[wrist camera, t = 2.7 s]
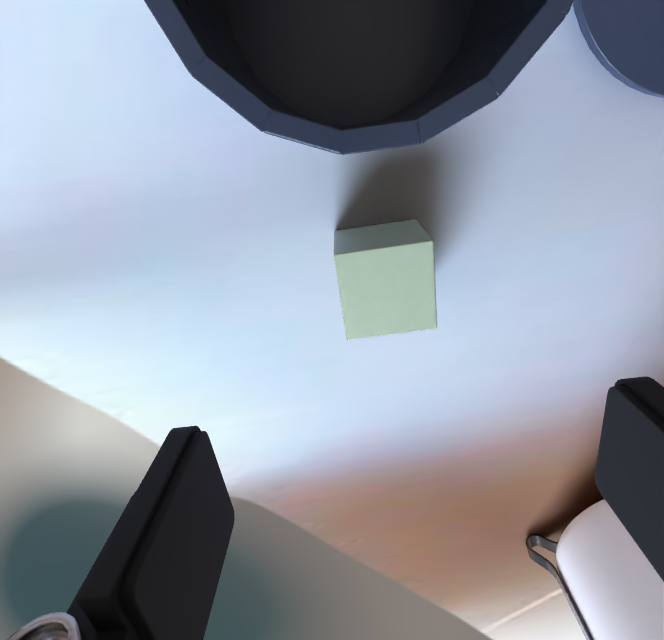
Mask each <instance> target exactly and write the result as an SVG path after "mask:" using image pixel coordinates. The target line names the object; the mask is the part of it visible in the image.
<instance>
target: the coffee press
mask: <svg viewBox="0 0 664 640" xmlns="http://www.w3.org/2000/svg"><path fill="white" fill-rule="evenodd" d="M526 546H527V550H528V554H529V556H530V558H531V559H532V560H534V561H535V562H536V563H538V564H539V565H541V566H542V567H544V568H545V569H546V570H548V571H549V572H550V573H551V574H552V575H553V576H554V577H555V578H556V579H557V581H558V583H559V585H560V586H561V588H562V590H563V592H564V594H565V596H566V598H567V600H568V603H569V605H570V607H571V609H572V611H573V613H574V615H575V617H576V619H577V621H578V623H579V625H580V627H581V629H582V631H583V634H584V636H585V638H586V640H664V582H663V580H662V579H661V577H660V576H659V575H658V573H657V572H656V570H655V569H654V568H653V566H652V565H651V563H650V562H649V561H648V559H647V558H646V556H645V555H644V554H643V552H642V551H641V549H640V548H639V547H638V545H637V544H636V542H635V541H634V540H633V538H632V537H631V535H630V534H629V533H628V531H627V530H626V528H625V527H624V526H623V524H622V523H621V521H620V520H619V519H618V517H617V516H616V514H615V513H614V512H613V510H612V509H611V507H610V506H609V505H608V503H607V502H606V500H605V499H603V500H601V501H599V502H597V503H595V504H593V505H592V506H590V507H588V508H587V509H585V510H584V511H583V512H581V513H580V514H579V515H578V516H577V517H575V518H574V519H573V520H572V521H571V522H570V524H569V525H568V526H567V527H566V529H565V530H564V532H563V533H562V535H561V537H560V540H559V542H554V541H551V540H549V539H547V538H545V537H542V536H540V535H537V534H532V535H530V536H528V537H527V539H526ZM534 546H541V547H543V548H546V549H548V550H550V551H552V552H554V553H556V565H557V569H558V571H557V570H556V568H555V567H554V565H553V564H552V563H551V562H549V561H548V560H547V559H546V558H544V557H543V556H541V555H540V554H538V553H537V552H535V551H534V550H532V549H531V548H532V547H534ZM558 572H559V573H558Z"/></svg>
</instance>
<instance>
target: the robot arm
mask: <svg viewBox="0 0 664 640" xmlns="http://www.w3.org/2000/svg"><path fill="white" fill-rule="evenodd" d="M595 482H596V486H597V488H598V490H599V492H600V493H601V495H602V496H603V498H604V499H605V500H606V502H607V503H608V505H609V506H610V507H611V509H612V510H613V512H614V513H615V514H616V516H617V517H618V519H619V520H620V521H621V523H622V524H623V526H624V527H625V528H626V530H627V531H628V533H629V534H630V535H631V537H632V538H633V540H634V541H635V542H636V544H637V545H638V547H639V548H640V549H641V551H642V552H643V554H644V555H645V556H646V558H647V559H648V561H649V562H650V563H651V565H652V566H653V568H654V569H655V570H656V572H657V573H658V575H659V576H660V577H661V579H662V580H663V582H664V387H663V386H661V385H660V384H659V383H658V382H656V381H655V380H654V379H652V378H650V377H637V378H628V379H620V380H618V381H617V382H616V383H615V386H614V387H611V388H610V389H609V390H608V394H607V401H606V407H605V413H604V419H603V426H602V432H601V438H600V445H599V451H598V457H597V464H596V470H595ZM233 525H234V510H233V506H232V503H231V500H230V497H229V494H228V491H227V489H226V486H225V483H224V480H223V477H222V474H221V471H220V468H219V465H218V462H217V460H216V457H215V454H214V451H213V448H212V445H211V442H210V439H209V436H208V434H207V432H206V431H201V430H200V429H199V427H198V426H190V427H181V428H174V429H172V430H171V431H170V432H169V434H168V436H167V437H166V439H165V441H164V443H163V445H162V446H161V448H160V450H159V452H158V454H157V456H156V457H155V459H154V461H153V463H152V464H151V466H150V468H149V470H148V471H147V473H146V475H145V477H144V479H143V480H142V482H141V484H140V486H139V487H138V489H137V491H136V492H135V494H134V495H133V496H132V497H131V499H130V501H129V503H128V504H127V506H126V508H125V510H124V512H123V513H122V515H121V517H120V519H119V520H118V522H117V524H116V526H115V528H114V529H113V531H112V533H111V535H110V536H109V538H108V540H107V542H106V543H105V545H104V547H103V549H102V551H101V552H100V554H99V556H98V558H97V559H96V561H95V563H94V565H93V566H92V569H91V570H90V572H89V574H88V575H87V577H86V579H85V581H84V582H83V584H82V586H81V588H80V590H79V592H78V593H77V595H76V597H75V598H74V600H73V602H72V604H71V606H70V608H69V609H68V611H67V613H51V614H47V615H44V616H41V617H39V618H37V619H35V620H33V621H31V622H29V623H28V624H26V625H24V626H23V627H22V628H21V629H19V630H18V631H17V632H15V633H14V634H13V635H12V636H10V637H9V638H8V639H7V640H203V638H204V634H205V630H206V626H207V623H208V619H209V615H210V611H211V608H212V604H213V600H214V597H215V593H216V589H217V585H218V582H219V578H220V574H221V570H222V567H223V563H224V559H225V555H226V551H227V548H228V544H229V540H230V536H231V533H232V529H233Z"/></svg>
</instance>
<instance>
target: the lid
mask: <svg viewBox="0 0 664 640" xmlns="http://www.w3.org/2000/svg"><path fill="white" fill-rule="evenodd" d="M573 6H574V11H575V15H576V17H577V20H578V23H579V26H580V29H581V32H582V34H583V36H584V38H585V40H586V42H587V44H588V46H589V48H590V49H591V51H592V52H593V54H594V55H595V56H596V58H597V59H598V60H599V62H600V63H601V64H602V65H603V66H604V67H605V68H606V69H607V70H608V71H609V72H610V73H611V74H612V75H613V76H614V77H615V78H617V79H618V80H620V81H621V82H623V83H624V84H626V85H628V86H629V87H631V88H633V89H636V90H638V91H640V92H643V93H645V94H649V95H653V96H657V97H662V98H664V0H573Z"/></svg>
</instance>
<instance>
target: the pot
mask: <svg viewBox="0 0 664 640" xmlns="http://www.w3.org/2000/svg"><path fill="white" fill-rule="evenodd" d="M144 1H145V3H146V4H147V6H148V8H149V9H150V11H151V12H152V14H153V16H154V17H155V19H156V20H157V22H158V24H159V25H160V27H161V28H162V30H163V32H164V33H165V35H166V36H167V38H168V40H169V41H170V43H171V44H172V46H173V48H174V49H175V51H176V52H177V54H178V56H179V57H180V59H181V60H182V62H183V64H184V65H185V67H186V68H187V70H188V72H189V73H190V74H191V75H192V77H194V78H195V79H196V80H197V81H199V82H200V83H201V84H202V85H204V86H205V87H206V88H207V89H209V90H210V91H211V92H212V93H214V94H215V95H216V96H217V97H219V98H220V99H221V100H222V101H224V102H225V103H226V104H227V105H229V106H230V107H231V108H232V109H234V110H235V111H236V112H237V113H239V114H240V115H241V116H242V117H244V118H245V119H246V120H247V121H249V122H250V123H251V124H253V125H254V126H255V127H256V128H258V129H259V130H260V131H262V132H263V131H264V132H265V133H266V134H270V135H273V136H277V137H280V138H284V139H287V140H291V141H294V142H298V143H301V144H305V145H308V146H312V147H315V148H318V149H322V150H325V151H329V152H332V153H336V154H342V155H345V154H353V153H360V152H367V151H374V150H381V149H388V148H395V147H402V146H409V145H416V144H421V143H424V142H425V141H427V140H429V139H430V138H432V137H434V136H435V135H437V134H439V133H440V132H442V131H444V130H445V129H447V128H449V127H450V126H452V125H454V124H456V123H457V122H459V121H461V120H462V119H464V118H466V117H467V116H469V115H471V114H472V113H474V112H476V111H477V110H479V109H481V108H482V107H484V106H486V105H488V104H489V103H491V102H493V101H494V100H496V99H497V98H498V97H499V96H500V95H501V94H502V93H503V92H504V91H505V89H506V88H507V87H508V86H509V85H510V83H511V82H512V81H513V80H514V79H515V77H516V76H517V75H518V74H519V73H520V71H521V70H522V69H523V68H524V67H525V65H526V64H527V63H528V62H529V61H530V59H531V58H532V57H533V56H534V55H535V53H536V52H537V51H538V50H539V49H540V47H541V46H542V45H543V44H544V43H545V41H546V40H547V39H548V38H549V37H550V35H551V34H552V33H553V32H554V31H555V29H556V28H557V27H558V26H559V25H560V23H561V22H562V21H563V20H564V18H565V15H567V14H568V12H569V10H570V7H571V5H572V3H573V0H144Z"/></svg>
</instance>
